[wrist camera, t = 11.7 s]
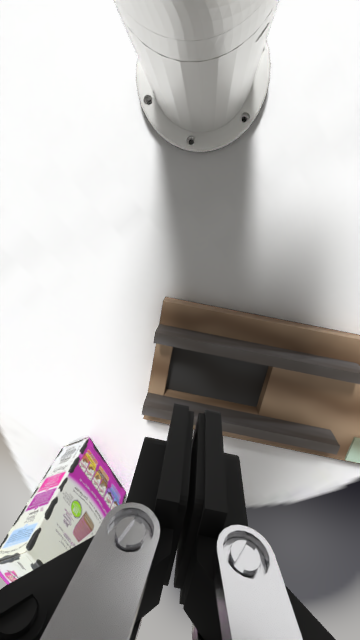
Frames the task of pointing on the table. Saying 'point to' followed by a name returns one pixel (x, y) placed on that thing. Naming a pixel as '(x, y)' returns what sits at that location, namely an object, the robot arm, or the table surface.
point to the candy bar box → (61, 510)
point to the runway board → (259, 378)
